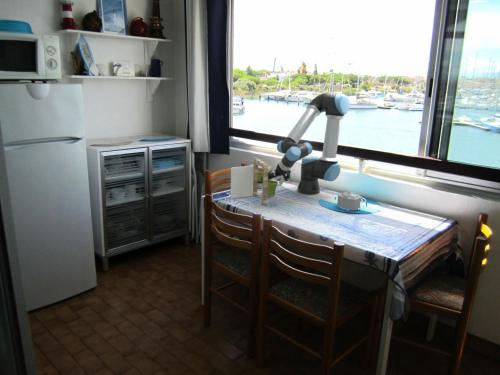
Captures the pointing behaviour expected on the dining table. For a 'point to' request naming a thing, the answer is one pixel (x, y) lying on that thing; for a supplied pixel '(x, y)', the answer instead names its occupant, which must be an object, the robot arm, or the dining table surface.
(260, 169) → the tea box
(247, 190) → the door leaf
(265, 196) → the door frame
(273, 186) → the plant pot
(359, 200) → the lumpy-topped squat cylinder
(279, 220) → the dining table surface
